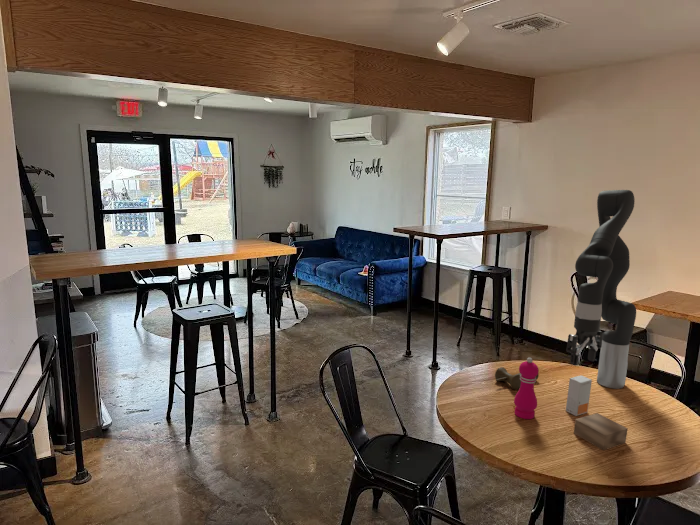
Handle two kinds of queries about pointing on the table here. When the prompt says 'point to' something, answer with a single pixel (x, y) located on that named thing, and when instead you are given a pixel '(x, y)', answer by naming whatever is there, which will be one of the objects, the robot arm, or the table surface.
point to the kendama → (509, 378)
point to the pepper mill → (526, 390)
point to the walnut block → (600, 431)
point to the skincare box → (578, 395)
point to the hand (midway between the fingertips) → (582, 362)
